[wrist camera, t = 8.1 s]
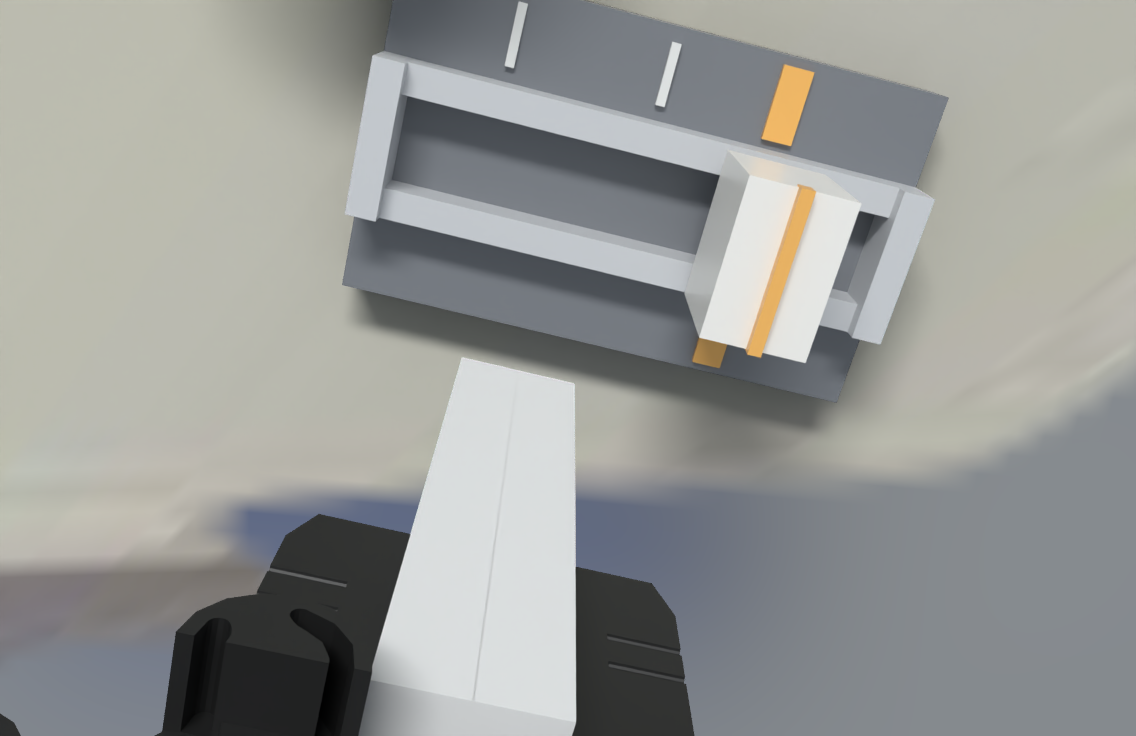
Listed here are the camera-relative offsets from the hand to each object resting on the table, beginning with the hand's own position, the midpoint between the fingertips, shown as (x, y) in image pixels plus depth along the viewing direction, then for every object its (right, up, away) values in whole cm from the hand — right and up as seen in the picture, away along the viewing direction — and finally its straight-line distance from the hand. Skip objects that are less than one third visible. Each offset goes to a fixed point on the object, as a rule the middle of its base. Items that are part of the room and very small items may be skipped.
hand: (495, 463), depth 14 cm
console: (+3, +8, +23) cm, 24 cm away
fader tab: (+7, +6, +21) cm, 23 cm away
